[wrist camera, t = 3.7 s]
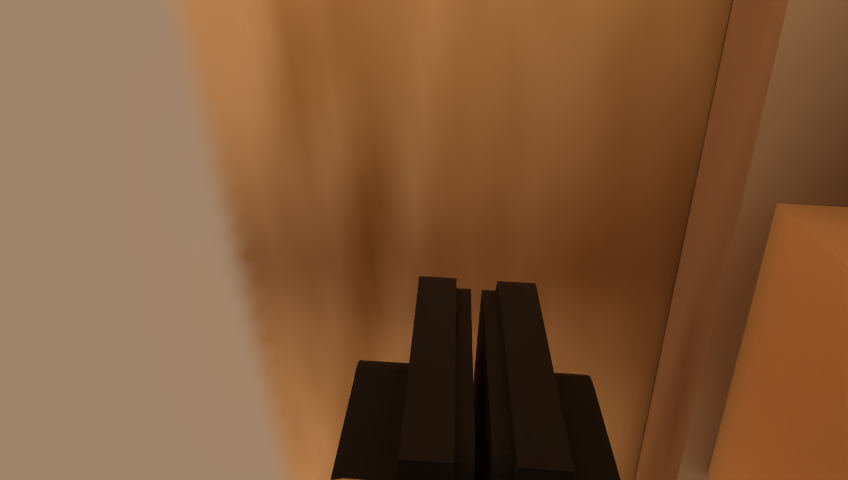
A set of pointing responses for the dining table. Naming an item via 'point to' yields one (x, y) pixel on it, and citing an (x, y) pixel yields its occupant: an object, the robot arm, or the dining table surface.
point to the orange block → (792, 357)
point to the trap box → (746, 208)
